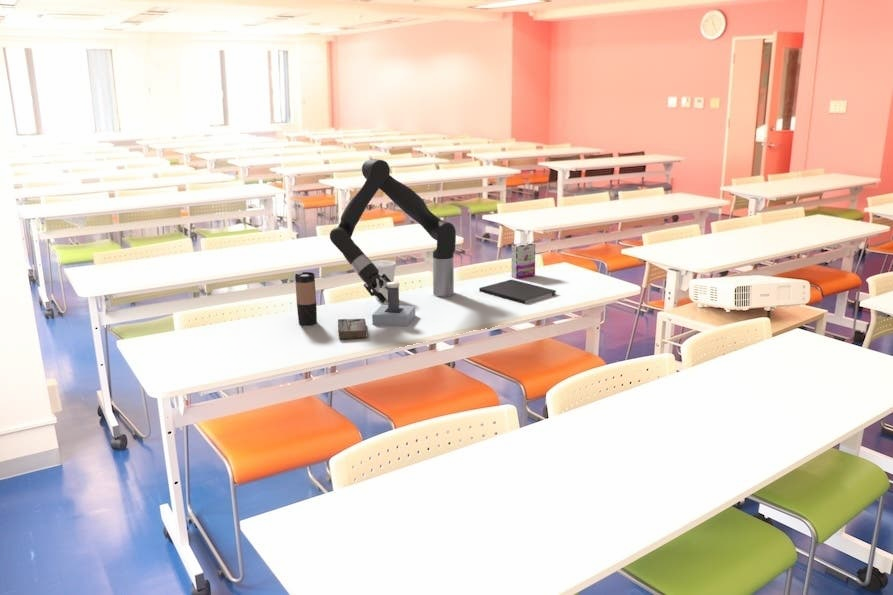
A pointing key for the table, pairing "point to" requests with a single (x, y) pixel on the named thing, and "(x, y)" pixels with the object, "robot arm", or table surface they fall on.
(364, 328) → the box
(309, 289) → the travel mug
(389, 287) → the plug
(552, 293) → the notebook
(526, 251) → the candy bar box
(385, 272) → the cup
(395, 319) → the socket
